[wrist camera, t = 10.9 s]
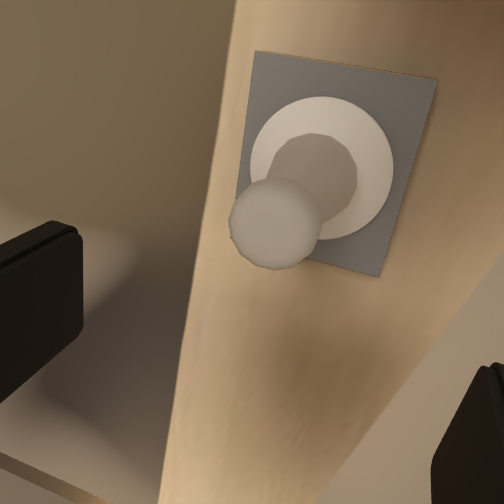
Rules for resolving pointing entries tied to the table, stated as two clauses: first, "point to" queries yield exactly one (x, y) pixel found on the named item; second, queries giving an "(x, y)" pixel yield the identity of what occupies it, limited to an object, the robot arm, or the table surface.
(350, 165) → the salt shaker
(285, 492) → the table surface
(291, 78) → the scale
